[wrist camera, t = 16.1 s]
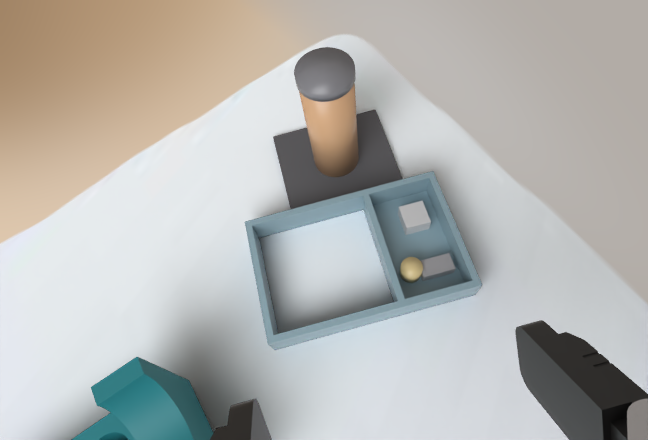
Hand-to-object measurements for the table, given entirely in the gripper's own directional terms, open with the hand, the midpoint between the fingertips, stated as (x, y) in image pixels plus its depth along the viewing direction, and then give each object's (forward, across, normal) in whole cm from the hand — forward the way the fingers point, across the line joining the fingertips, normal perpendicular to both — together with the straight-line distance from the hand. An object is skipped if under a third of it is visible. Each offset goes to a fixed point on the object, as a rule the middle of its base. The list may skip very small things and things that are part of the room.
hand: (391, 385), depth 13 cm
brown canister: (+37, -3, 0) cm, 37 cm away
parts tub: (+28, -2, +9) cm, 30 cm away
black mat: (+37, -3, +1) cm, 37 cm away
